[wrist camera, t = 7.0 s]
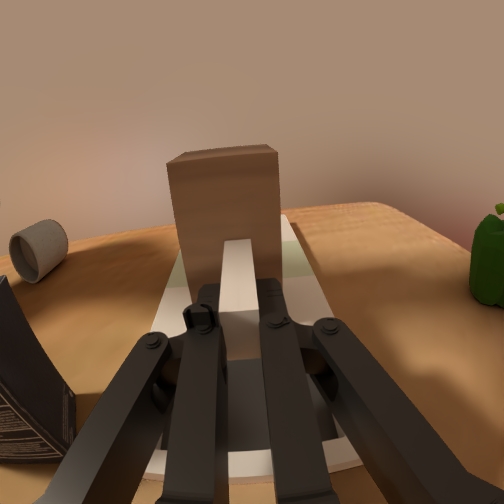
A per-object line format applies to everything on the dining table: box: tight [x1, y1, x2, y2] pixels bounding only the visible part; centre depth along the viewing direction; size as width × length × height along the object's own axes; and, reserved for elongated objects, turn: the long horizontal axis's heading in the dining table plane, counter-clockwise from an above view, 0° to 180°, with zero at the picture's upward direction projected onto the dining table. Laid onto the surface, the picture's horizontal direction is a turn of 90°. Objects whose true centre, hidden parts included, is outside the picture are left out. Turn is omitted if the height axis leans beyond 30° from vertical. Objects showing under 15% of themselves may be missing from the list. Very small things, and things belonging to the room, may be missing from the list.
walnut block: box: [166, 144, 283, 304], centre depth 19 cm, size 6×6×12 cm
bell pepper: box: [469, 203, 504, 307], centre depth 19 cm, size 8×8×10 cm
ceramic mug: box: [9, 219, 68, 283], centre depth 32 cm, size 11×8×8 cm
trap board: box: [142, 215, 363, 484], centre depth 26 cm, size 35×14×2 cm, turn 3°
